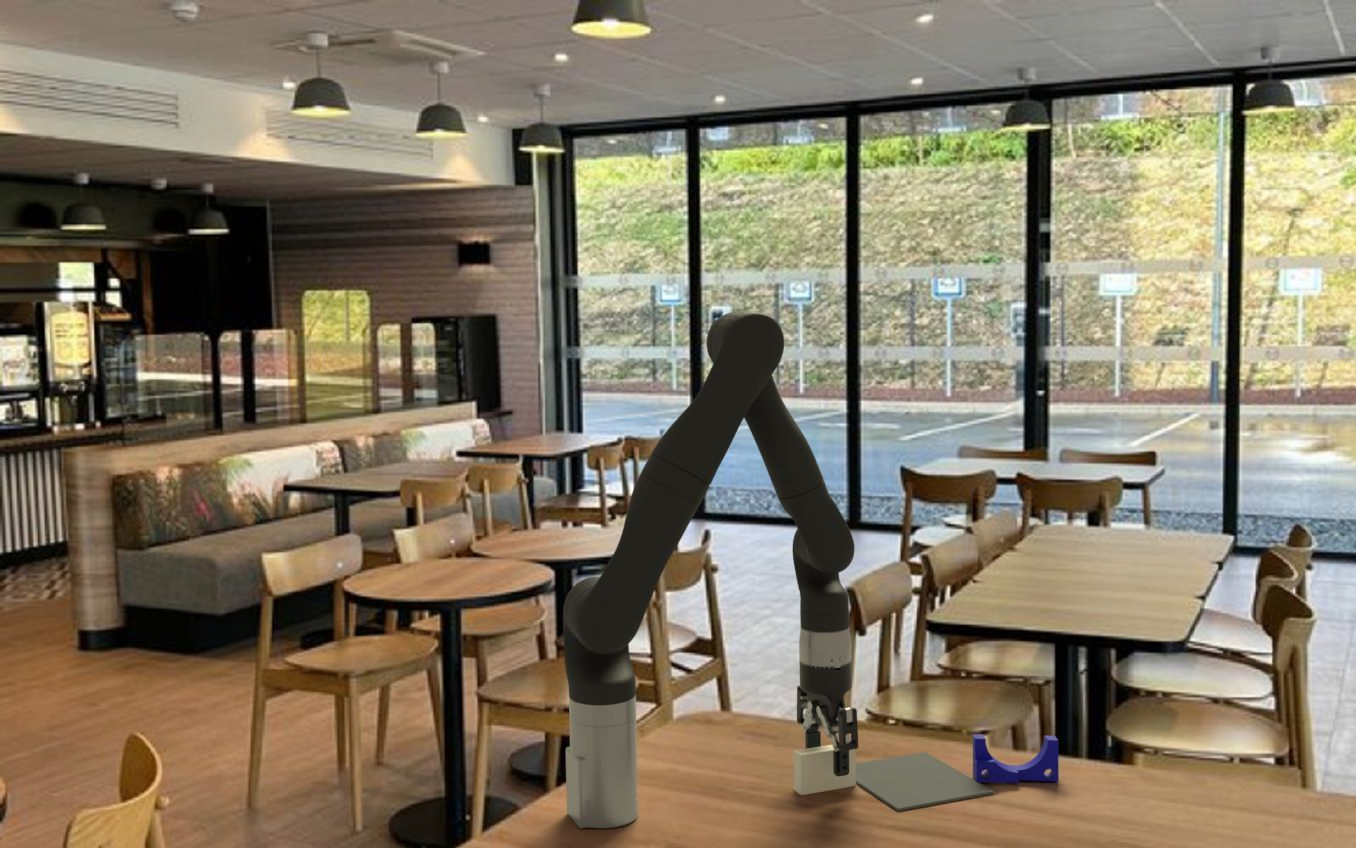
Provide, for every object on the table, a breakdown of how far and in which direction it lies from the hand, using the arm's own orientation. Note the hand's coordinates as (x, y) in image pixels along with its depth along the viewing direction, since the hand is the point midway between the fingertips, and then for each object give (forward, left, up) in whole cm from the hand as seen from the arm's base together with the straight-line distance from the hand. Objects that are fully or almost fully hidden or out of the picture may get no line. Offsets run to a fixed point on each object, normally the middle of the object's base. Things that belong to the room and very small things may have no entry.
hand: (827, 765), depth 193 cm
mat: (+13, -3, -3) cm, 13 cm away
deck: (0, 0, -3) cm, 3 cm away
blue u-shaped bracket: (+27, -9, -3) cm, 28 cm away
